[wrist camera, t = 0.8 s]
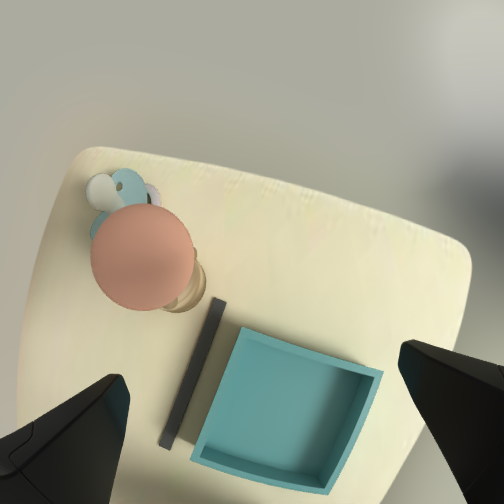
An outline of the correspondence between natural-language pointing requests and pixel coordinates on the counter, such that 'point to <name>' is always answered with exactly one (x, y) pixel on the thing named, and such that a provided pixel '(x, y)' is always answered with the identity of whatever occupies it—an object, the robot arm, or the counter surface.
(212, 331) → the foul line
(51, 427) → the robot arm
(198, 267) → the knobbed tan cylinder
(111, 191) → the pacifier
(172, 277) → the ball
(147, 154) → the counter surface
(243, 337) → the tray
